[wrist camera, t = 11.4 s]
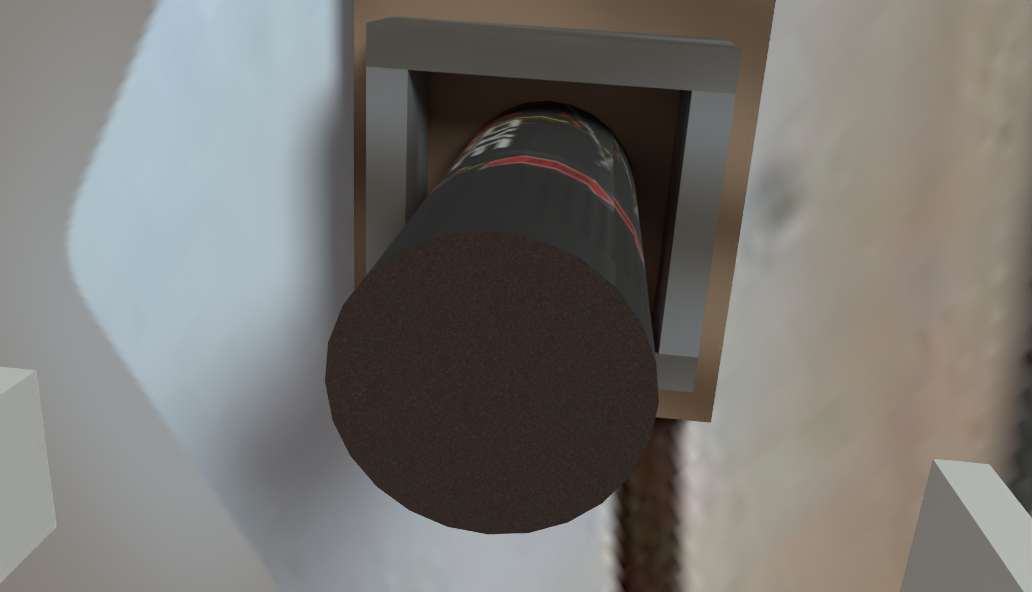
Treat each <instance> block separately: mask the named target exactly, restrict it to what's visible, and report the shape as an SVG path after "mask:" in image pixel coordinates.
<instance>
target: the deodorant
mask: <svg viewBox="0 0 1032 592" xmlns="http://www.w3.org/2000/svg"><path fill="white" fill-rule="evenodd" d="M325 383H326V388H327V393H328V399H329V404H330V409H331V414H332V419H333V422H334V424H335V426H336V428H337V430H338V432H339V434H340V436H341V438H342V440H343V442H344V444H345V446H346V448H347V450H348V452H349V454H350V456H351V457H352V458H353V459H354V461H355V462H356V463H357V464H358V465H359V466H360V468H361V469H362V470H363V471H364V472H365V473H366V475H367V476H368V477H369V478H370V479H371V480H372V482H373V483H374V484H375V485H376V486H377V487H378V488H380V489H381V490H382V491H384V492H385V493H386V494H388V495H389V496H390V497H392V498H393V499H395V500H396V501H397V502H399V503H400V504H401V505H403V506H404V507H406V508H407V509H408V510H410V511H412V512H415V513H417V514H419V515H421V516H424V517H426V518H428V519H431V520H433V521H435V522H438V523H440V524H442V525H445V526H447V527H452V528H457V529H463V530H468V531H474V532H479V533H484V534H509V533H530V532H534V531H537V530H541V529H545V528H549V527H552V526H556V525H560V524H563V523H567V522H569V521H571V520H573V519H575V518H576V517H578V516H580V515H582V514H584V513H585V512H587V511H589V510H591V509H592V508H594V507H596V506H598V505H600V504H601V503H603V502H604V501H605V500H606V499H607V498H608V497H609V496H610V495H611V494H612V493H613V492H614V491H615V490H616V489H617V488H618V487H619V486H620V485H621V484H622V483H623V482H624V481H626V480H627V479H628V478H629V477H630V476H631V474H632V472H633V471H634V469H635V467H636V465H637V464H638V462H639V460H640V458H641V457H642V455H643V453H644V451H645V450H646V448H647V446H648V444H649V443H650V440H651V435H652V431H653V427H654V422H655V418H656V414H657V410H658V405H659V396H658V381H657V366H656V356H655V348H654V340H653V331H652V323H651V315H650V306H649V298H648V290H647V281H646V273H645V265H644V256H643V248H642V239H641V231H640V223H639V214H638V206H637V198H636V189H635V181H634V173H633V170H632V167H631V164H630V161H629V158H628V155H627V152H626V150H625V148H624V147H623V146H622V144H621V143H620V141H619V140H618V138H617V137H616V135H615V134H614V132H613V131H612V130H611V129H610V128H609V127H607V126H606V125H605V124H604V123H603V122H601V121H600V120H599V119H598V118H597V117H595V116H594V115H592V114H590V113H588V112H586V111H584V110H582V109H579V108H577V107H575V106H573V105H569V104H563V103H557V102H552V101H542V102H531V103H523V104H521V105H518V106H515V107H513V108H510V109H507V110H505V111H502V112H501V113H499V114H498V115H497V116H495V117H494V118H493V119H491V120H490V121H489V122H487V123H486V124H484V125H483V126H482V128H481V129H480V130H479V131H478V133H477V134H476V135H475V136H474V138H473V139H472V140H471V141H470V143H469V144H468V145H467V147H466V148H465V149H464V150H463V152H462V153H461V154H460V156H459V157H458V158H457V159H456V161H455V162H454V163H453V165H452V166H451V167H450V168H449V170H448V171H447V172H446V174H445V175H444V176H443V177H442V179H441V180H440V181H439V183H438V184H437V185H436V186H435V188H434V189H433V190H432V192H431V193H430V194H429V195H428V197H427V198H426V199H425V201H424V202H423V203H422V204H421V206H420V207H419V208H418V210H417V211H416V212H415V213H414V215H413V216H412V217H411V219H410V220H409V221H408V222H407V224H406V225H405V226H404V228H403V229H402V230H401V231H400V233H399V234H398V235H397V237H396V238H395V239H394V241H393V242H392V243H391V244H390V246H389V247H388V248H387V250H386V251H385V252H384V253H383V255H382V256H381V257H380V259H379V260H378V261H377V262H376V264H375V265H374V266H373V268H372V269H371V270H370V271H369V273H368V274H367V275H366V277H365V278H364V279H363V280H362V282H361V283H360V284H359V286H358V287H357V288H356V289H355V291H354V292H353V293H352V295H351V296H350V297H349V298H348V300H347V301H346V302H345V304H344V305H343V307H342V309H341V312H340V314H339V317H338V319H337V322H336V324H335V327H334V330H333V332H332V335H331V337H330V340H329V342H328V352H327V364H326V377H325Z"/></svg>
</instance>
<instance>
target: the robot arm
mask: <svg viewBox="0 0 1032 592" xmlns="http://www.w3.org/2000/svg"><path fill="white" fill-rule="evenodd" d="M56 527H57V526H56V518H55V510H54V503H53V495H52V487H51V480H50V472H49V464H48V457H47V449H46V441H45V434H44V426H43V418H42V411H41V403H40V396H39V388H38V381H37V373H36V370H27V369H17V368H7V367H0V583H1V582H2V581H3V580H4V579H5V578H6V577H7V576H8V575H9V574H10V573H11V572H12V571H13V570H14V569H15V568H16V567H17V566H18V565H19V564H20V563H21V562H22V561H23V560H24V559H25V558H26V557H27V556H28V555H29V554H30V553H31V552H32V551H33V550H34V549H35V548H36V547H37V546H38V545H39V544H40V543H41V542H42V541H43V540H44V539H45V538H46V537H47V536H48V535H49V534H50V533H51V532H52V531H53V530H54V529H55V528H56ZM900 592H1032V518H1031V517H1030V515H1029V514H1028V513H1027V512H1026V510H1025V509H1024V508H1023V507H1022V505H1021V504H1020V503H1019V501H1018V500H1017V499H1016V498H1015V496H1014V495H1013V494H1012V493H1011V491H1010V490H1009V489H1008V488H1007V486H1006V485H1005V484H1004V483H1003V481H1002V480H1001V479H1000V477H999V476H998V475H997V474H996V472H995V471H994V470H993V469H992V467H991V466H990V465H989V464H979V463H969V462H959V461H949V460H939V459H933V461H932V465H931V469H930V473H929V477H928V481H927V485H926V489H925V493H924V497H923V501H922V505H921V509H920V513H919V517H918V521H917V525H916V529H915V533H914V537H913V542H912V546H911V550H910V554H909V558H908V562H907V566H906V570H905V574H904V578H903V582H902V586H901V590H900Z"/></svg>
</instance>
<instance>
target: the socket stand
mask: <svg viewBox="0 0 1032 592" xmlns="http://www.w3.org/2000/svg"><path fill="white" fill-rule="evenodd" d="M775 1H776V0H354V243H355V289H356V288H357V287H358V286H359V284H360V283H361V282H362V280H363V279H364V278H365V277H366V275H367V274H368V273H369V271H370V270H371V269H372V268H373V266H374V265H375V264H376V262H377V261H378V260H379V259H380V257H381V256H382V255H383V253H384V252H385V251H386V250H387V248H388V247H389V246H390V244H391V243H392V242H393V241H394V239H395V238H396V237H397V235H398V234H399V233H400V231H401V230H402V229H403V228H404V226H405V225H406V224H407V222H408V221H409V220H410V219H411V217H412V216H413V215H414V213H415V212H416V211H417V210H418V208H419V207H420V206H421V204H422V203H423V202H424V201H425V199H426V198H427V197H428V195H429V194H430V193H431V192H432V190H433V189H434V188H435V186H436V185H437V184H438V183H439V181H440V180H441V179H442V177H443V176H444V175H445V174H446V172H447V171H448V170H449V168H450V167H451V166H452V165H453V163H454V162H455V161H456V159H457V158H458V157H459V156H460V154H461V153H462V152H463V150H464V149H465V148H466V147H467V145H468V144H469V143H470V141H471V140H472V139H473V138H474V136H475V135H476V134H477V133H478V131H479V130H480V129H481V128H482V126H483V125H484V124H486V123H487V122H489V121H490V120H491V119H493V118H494V117H495V116H497V115H498V114H499V113H501V112H502V111H505V110H507V109H510V108H513V107H515V106H518V105H521V104H523V103H531V102H542V101H552V102H557V103H563V104H569V105H573V106H575V107H577V108H579V109H582V110H584V111H586V112H588V113H590V114H592V115H594V116H595V117H597V118H598V119H599V120H600V121H601V122H603V123H604V124H605V125H606V126H607V127H609V128H610V129H611V130H612V131H613V132H614V134H615V135H616V137H617V138H618V140H619V141H620V143H621V144H622V146H623V147H624V148H625V150H626V152H627V155H628V158H629V161H630V164H631V167H632V170H633V173H634V181H635V189H636V198H637V206H638V214H639V223H640V231H641V239H642V248H643V256H644V265H645V273H646V281H647V290H648V298H649V306H650V315H651V323H652V331H653V340H654V348H655V356H656V366H657V381H658V396H659V405H658V410H657V414H656V417H660V418H670V419H680V420H690V421H700V422H711V418H712V411H713V405H714V398H715V392H716V385H717V379H718V372H719V366H720V359H721V353H722V346H723V339H724V333H725V326H726V320H727V313H728V307H729V300H730V294H731V287H732V281H733V274H734V268H735V261H736V255H737V248H738V242H739V235H740V229H741V222H742V216H743V209H744V203H745V196H746V190H747V183H748V177H749V170H750V164H751V157H752V151H753V144H754V138H755V131H756V125H757V118H758V112H759V105H760V99H761V92H762V86H763V79H764V73H765V66H766V60H767V53H768V47H769V40H770V34H771V27H772V21H773V14H774V8H775Z"/></svg>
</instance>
